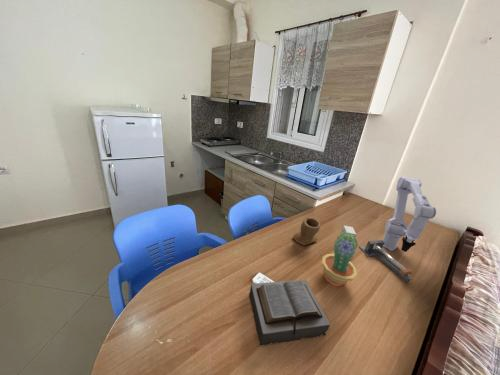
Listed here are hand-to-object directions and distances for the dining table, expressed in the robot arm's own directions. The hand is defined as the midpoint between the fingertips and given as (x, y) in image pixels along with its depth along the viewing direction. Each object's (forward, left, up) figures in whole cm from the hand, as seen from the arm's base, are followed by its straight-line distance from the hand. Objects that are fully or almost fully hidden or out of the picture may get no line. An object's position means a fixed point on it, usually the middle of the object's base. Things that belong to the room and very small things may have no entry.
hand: (405, 247), depth 108 cm
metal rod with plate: (+8, -2, -7) cm, 11 cm away
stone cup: (+34, -37, -11) cm, 51 cm away
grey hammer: (+7, -3, -10) cm, 13 cm away
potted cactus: (+44, -11, -11) cm, 46 cm away
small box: (+14, -24, -11) cm, 30 cm away
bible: (+78, -10, -11) cm, 79 cm away
